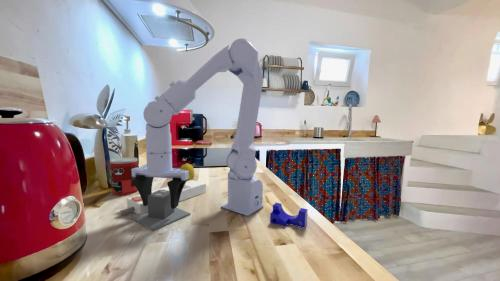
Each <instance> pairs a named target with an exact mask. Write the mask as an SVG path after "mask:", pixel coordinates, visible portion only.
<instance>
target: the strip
mask: <svg viewBox="0 0 500 281" xmlns="http://www.w3.org/2000/svg"><path fill="white" fill-rule="evenodd" d="M158 190H165V191H169V187H168V186H165V187H161V188H158V189H154V190H152V193H154V192H156V191H158ZM206 192H207V183H204V182H201V181H197V180H194V179H193V180H190V181H186V183H185V185H184V187H183V189H182V192H181V195H180V199H179V203H180V202H183V201H185V200H189V199H190V198H191V199H192V198H193V197H197V196H199V195H202V194H204V193H206ZM126 206H127V207H126V208H125V209H121V210H120V211H119V213H120V215H121V216H124V215H126V214H130V213H132V212H133V213H135V215H137V214H143V213H145V212H148V205H147V206H144V205H143V202H142V199H141V196H140V194H137V195H133V196H129V197H126Z"/></svg>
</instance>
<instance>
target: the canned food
mask: <svg viewBox="0 0 500 281" xmlns="http://www.w3.org/2000/svg"><path fill="white" fill-rule="evenodd" d="M138 160H139V159H138V158H137V157H133V156H132V157H130V156H129V157H128V156H127V157H117V158H112V159H110V160H109V174H110V189H111V193H112V195H114V196H127V195H132V194H134V193H136V192H138V190H137V188H136V187H135V186H134V184H133V183H132V180H133V179H135V178H136V177H132V170H131V169H133V168H137V167H139V161H138Z"/></svg>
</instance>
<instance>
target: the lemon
mask: <svg viewBox="0 0 500 281" xmlns="http://www.w3.org/2000/svg"><path fill="white" fill-rule="evenodd" d="M179 169H180V170H186V171H189V178H188V179H187V181H190V180H194V178H195V173H196V172H195V168H194V166H193V165H192V164H190V163H187V162H186V163H185V164H183V165H181V166H180V168H179Z"/></svg>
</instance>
